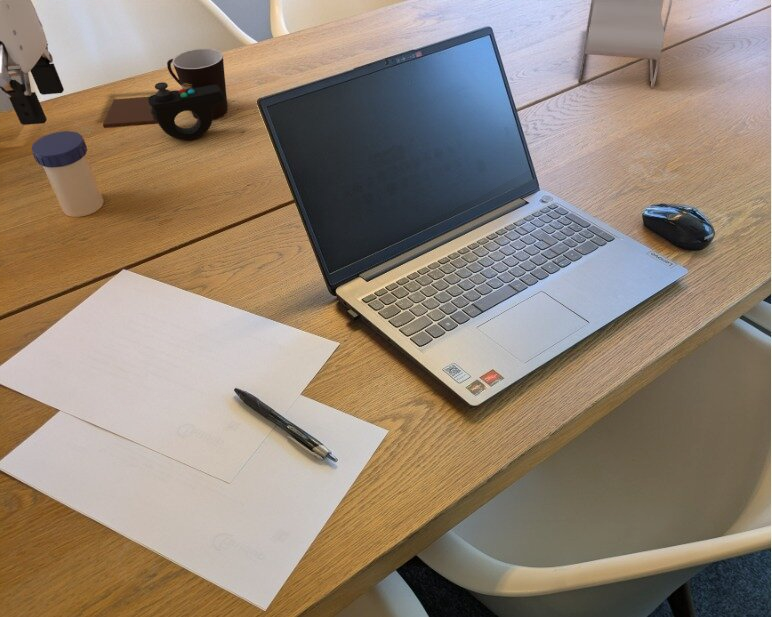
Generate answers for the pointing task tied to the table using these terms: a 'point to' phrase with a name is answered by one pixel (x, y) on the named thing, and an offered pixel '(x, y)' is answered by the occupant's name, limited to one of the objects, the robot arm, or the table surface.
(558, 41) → the table surface
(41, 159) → the jar lid
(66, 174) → the jar
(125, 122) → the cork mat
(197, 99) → the controller
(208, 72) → the coffee mug
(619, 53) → the chair
